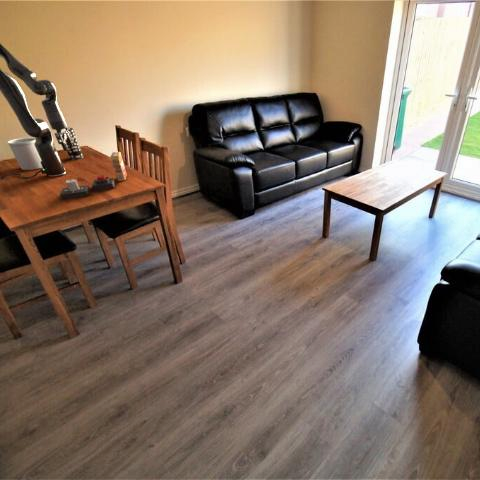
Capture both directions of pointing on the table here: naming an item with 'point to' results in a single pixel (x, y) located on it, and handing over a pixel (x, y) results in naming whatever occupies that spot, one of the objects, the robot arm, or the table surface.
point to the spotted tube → (74, 147)
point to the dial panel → (75, 192)
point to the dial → (72, 185)
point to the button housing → (103, 184)
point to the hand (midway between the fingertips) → (68, 148)
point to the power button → (101, 177)
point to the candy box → (118, 166)
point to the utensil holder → (26, 153)
